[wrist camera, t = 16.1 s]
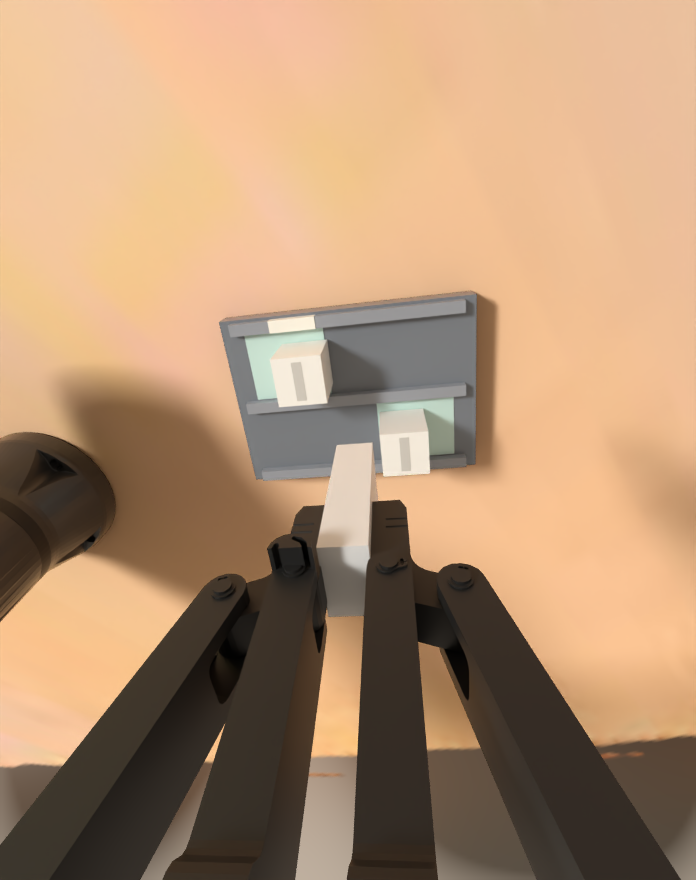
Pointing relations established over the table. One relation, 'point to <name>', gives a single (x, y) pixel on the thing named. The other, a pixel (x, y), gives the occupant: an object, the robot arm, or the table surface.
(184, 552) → the table surface
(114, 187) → the table surface
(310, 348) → the tab
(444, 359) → the switch board
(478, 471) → the table surface
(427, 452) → the tab
